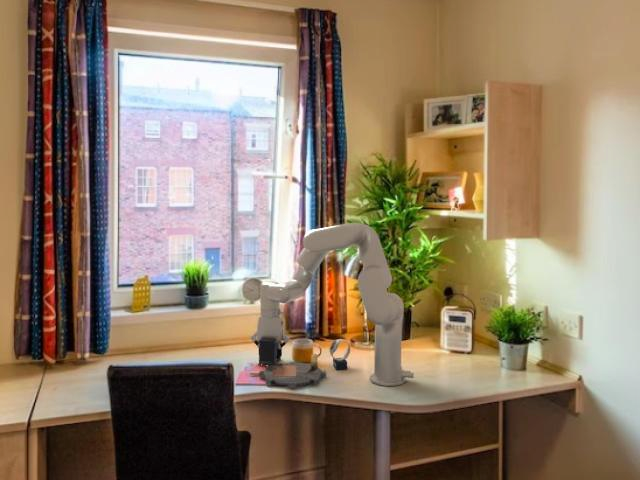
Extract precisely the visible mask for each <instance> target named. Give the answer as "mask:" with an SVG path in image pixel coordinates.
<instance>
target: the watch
mask: <svg viewBox="0 0 640 480" xmlns="http://www.w3.org/2000/svg"><path fill="white" fill-rule="evenodd" d="M342 342H343V343H346V344H347V349H346V352H345V353H344V355H343V357H335V356H334V354H335V352H336V351H337V350H338V348H339V344H341V343H342ZM328 350H329V351H328V352H329V354H330V356H331V357H332V367H333V369H334V370H335V371H346V370H348V361H347V358H349V356H350V354H351V346H350V344H349V342H348V341H347V340H345V339H344V338H343V339H342V338H339V339H335V340H333V341H332V342H331V345H330V347H329V349H328Z"/></svg>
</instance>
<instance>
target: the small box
mask: <svg viewBox="0 0 640 480" xmlns="http://www.w3.org/2000/svg"><path fill="white" fill-rule="evenodd" d="M277 349H278V346H277V342H276V339H271V338H261V339H260V340H259V348H258V366H259V365H261V364H262V365H272V364H274V365H276V364H279V362H280V361H281V359H282V356H281V357H280V358H279V359H277Z"/></svg>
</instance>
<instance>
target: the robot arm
mask: <svg viewBox="0 0 640 480" xmlns="http://www.w3.org/2000/svg"><path fill="white" fill-rule="evenodd" d="M302 244H303V249H302V250H301V251H300V253H299V254H298V256H297V258H296V262H297V264H298V268H297V269H298V270H297V271H296V272H295V274H294V275H293V277H292V279H291V280H289V281H286V282H284V283H283V282H282V283H279V282H278V281H275V280H273V281H272V280H269V281H267V280H266V281H262V282H261V284H260V294H259V295H260V297H259V298H260V304H259V305H260V315H259V316H258V320H257V326H256V332H255V333H254V334H253V335H252V336H250V339H251V341H252V342H253V343H254V344H255V345H256V346H257V348H258V349H259V340H260V339H261V338H271V339H276V342H277V346H278V349H277V359H279V358H280V357H281V358H282V356H283V347H284V346H286V344H287V343H289V341H290V337H289V336H287V334H286V333H285V331H284V321H283V316H282V315H283V314H284V310H281V308H280V307H281V305H280V304H288V303H290V302H292V301H295V300H298V299H300V298H301V297H303V295H304V294H305V292H306V291H307V290H308V289H309V287H310V285H311V284H312V282H313V281H314V278H315V275H316V271H317V269H318V268H319V266H320V265H321V263H322V262H323V261H324V259H325V258H326V257H327V255H328V253H329V252H331V251H337V250H343V249H348V248H353V247H358V250H359V258H360V261H361V264H362V266H363V269H362V270H361V271H360V273H359V274H358V277H357V286H358V287H357V288H358V290H359V294H360V297H361V300H362V303H363V306H364V307H363V308H364V310H365V312H366V314H367V317H368V319H369V320H370V321H371V322H372V323H373V324H374V325H375V327H374V372H373V373H372V374H370V376H369V381H370V382H371V383H373V384H375V385H379V386H386V387H394V386H395V387H396V386H400V385H403V384H405V382H406V378H407V379H414V373H415V372H412V371H411V370H404V369H403V366H402V338H403V336H402V335H403V334H402V333H403V320H404V311H405V309H404V307H405V306H404V302H403V299H402V298H401V297H400V296H399V295H398V294H397V293H395V292H388V288H389V287H390V286H391V284H392V282H393V277H392V274H391V270H390V267H389V264H388V261H387V258H386V256H385V252H384V250H383V247H382V244H381V240H380V238H379V235H378V233H377V232H376V231H375V229H373V227H371V226H369V225H368V224H365V223H360V222H349V223H343V224H338V225H333V226H327V227H322V228H316V229H314V228H313V229H311V230H308V232H306V233H305V235H304V236H303V240H302ZM283 339H284V341H282V340H283Z"/></svg>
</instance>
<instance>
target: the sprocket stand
mask: <svg viewBox="0 0 640 480" xmlns="http://www.w3.org/2000/svg"><path fill="white" fill-rule="evenodd" d="M259 373H260V371H253V370H252V371H250V372H249V376H250V375H259Z"/></svg>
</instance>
